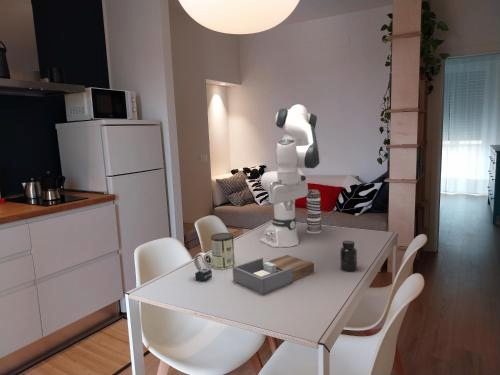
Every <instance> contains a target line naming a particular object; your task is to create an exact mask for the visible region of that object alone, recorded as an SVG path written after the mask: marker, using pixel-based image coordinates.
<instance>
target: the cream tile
mask: <svg viewBox="0 0 500 375" xmlns="http://www.w3.org/2000/svg"><path fill="white" fill-rule="evenodd" d="M253 274H254V275H256V276H259V277H261V278H264V277H266V276H269V275H271V274H270V273H269V272H266V271H264V270H261V271H258V272H255V273H253Z"/></svg>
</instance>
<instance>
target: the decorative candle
mask: <svg viewBox="0 0 500 375" xmlns="http://www.w3.org/2000/svg"><path fill="white" fill-rule="evenodd" d="M305 206H306V207H305V208H306V213H307V217H306V224H307V225H306V232H307V233H308V234H320V233H322V220H321V219H322V218H321V213H322V200H321V192H320V190H318V189H308V194H307V196H306V200H305Z"/></svg>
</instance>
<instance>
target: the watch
mask: <svg viewBox="0 0 500 375" xmlns="http://www.w3.org/2000/svg"><path fill="white" fill-rule="evenodd" d="M199 256H200V257H201V261H202V264H203V265H204V266H205V267H206V268H202V266H201V264H200V261H199V259H198V258H199ZM193 264H194V266H195V268H196V270H197V271H196V272H195V273H194V276H195V277H194V278H195V281H197V282H201V283H205V282H206V281H209V280H210V279H211V278H213V272H212V271H213V270H212V268H213V260H212V255H210V254H209V253H206V252H199V253H197V254H196V255H195V256H194V258H193Z"/></svg>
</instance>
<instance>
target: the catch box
mask: <svg viewBox="0 0 500 375" xmlns="http://www.w3.org/2000/svg"><path fill="white" fill-rule="evenodd" d="M263 263H264V258H263V257H260V258H257V259H253V260H250V261H247V262H245V263H242V264H238V265H236V266H235V265H234V266H233V267H232V282H233V283H236V284H238V285H240V286H243V287H245V288H247V289H249V290H250V291H253V292H255V293H258V294H260V295H262V296H264V295H266V294H268V293H271V292H273V291H276V290H278V289H281V288H283V287H286V286H288V285H292V284H293V282H294V281H293V275H292V268H288V269H285V270H282V271H279V270H277V269H276V273H274V274H272V275H269V276H266V277H264V278H261V277H259V276H256V275H254V274H253V273H255V272H258V271H261V270H264V265H263Z"/></svg>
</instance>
